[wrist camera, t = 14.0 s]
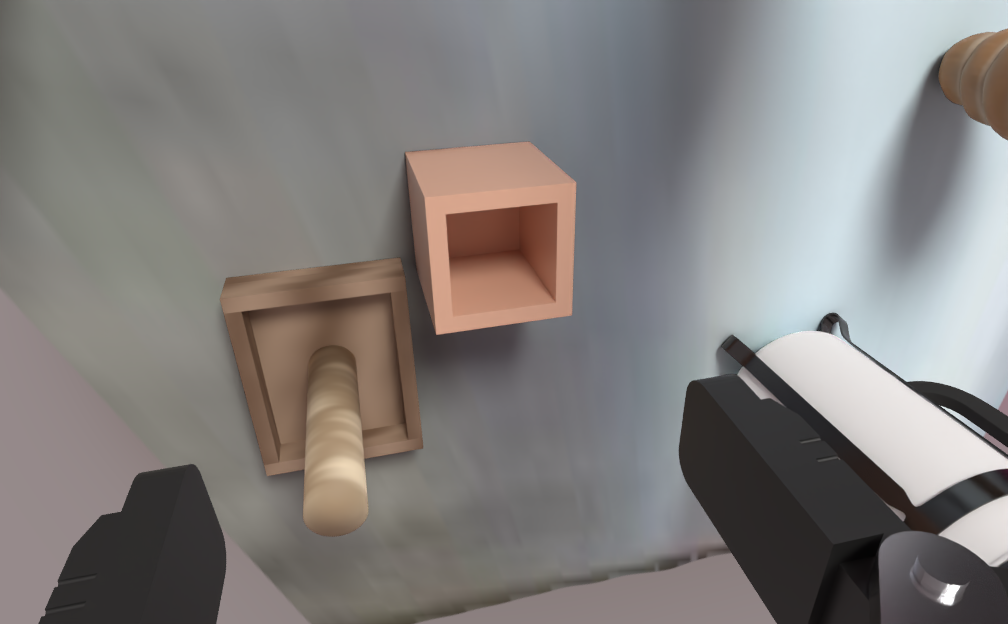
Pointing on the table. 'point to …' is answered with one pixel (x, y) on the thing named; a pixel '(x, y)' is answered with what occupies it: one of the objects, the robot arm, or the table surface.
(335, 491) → the dowel
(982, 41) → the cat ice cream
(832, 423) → the coffee press
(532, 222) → the pink open box
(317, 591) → the table surface
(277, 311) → the tray
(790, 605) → the robot arm
